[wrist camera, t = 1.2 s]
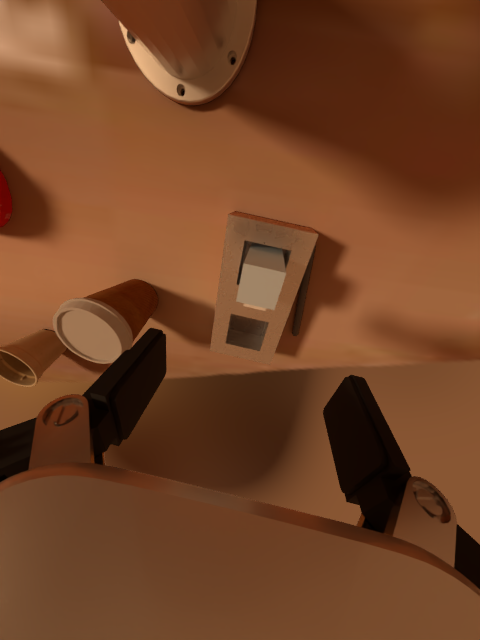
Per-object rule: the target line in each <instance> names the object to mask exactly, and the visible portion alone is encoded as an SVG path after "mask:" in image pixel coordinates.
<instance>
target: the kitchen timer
mask: <svg viewBox="0 0 480 640" xmlns="http://www.w3.org/2000/svg"><path fill="white" fill-rule="evenodd" d="M11 213H12V198H11V194H10V191H9V188H8V185H7V182H6V180H5V178H4V176H3V174H2V172H1V170H0V227H3V226H4V225H5V224H6V223H7V222H8V221H9V219H10V216H11Z"/></svg>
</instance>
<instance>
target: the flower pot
mask: <svg viewBox="0 0 480 640" xmlns="http://www.w3.org/2000/svg"><path fill="white" fill-rule="evenodd" d="M66 349H67V347H66V346H65V345H64V344H63V343H62V341H61V340H60V339H59V337H58V336H57V334H56V333H55V332H53V331H51V330H45V329H42V330H39V331H37V332H35V333H32V334H30V335H28V336H25V337H23V338H21V339H18V340H16V341H14V342H11V343H9V344H6V345H1V346H0V376H1V377H2V378H4V379H5V380H7V381H9V382H11V383H14V384H16V385H20V386H25V387H30V386H34V385H35V384H36V383H37V382H38V379H39V378H40V377H41V376H42V374H43V372H44V371H45V370H46V369H47V368H48V367H49V366H50V365H51V364H52V363H53V362H54V361H55V360H56V359H57V358H58V357H59V356H60V355H61V354H62V353H63V352H65V351H66Z"/></svg>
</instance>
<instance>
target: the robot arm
mask: <svg viewBox="0 0 480 640" xmlns="http://www.w3.org/2000/svg"><path fill="white" fill-rule="evenodd" d="M101 1H102V2H103V3H104V4H105V5H106V6H107V8H108V9H109V10H110V11H111V12H112V13H113V14H114V16H115V17H116V18H117V19H118V21H119V25H120V29H121V31H122V34H123V37H124V40H125V42H126V45H127V47H128V49H129V51H130V53H131V55H132V57H133V59H134V61H135V63H136V65H137V66H138V67H139V69H140V70H141V72H142V73H143V75H144V76H145V78H146V79H147V80H148V81H149V82H150V83H151V84H152V85H153V86H154V87H155V88H156V89H157V90H158V91H160V92H161V93H162V94H163V95H164V96H166V97H168V98H169V99H171V100H173V101H175V102H177V103H181V104H184V105H201V104H204V103H208V102H210V101H212V100H214V99H215V98H217V97H219V96H220V95H221V94H222V93H223V92H224V91H225V90H226V89H227V88H228V87H229V86H230V85H231V83H232V82H233V81H234V79H235V78H236V76H237V75H238V73H239V71H240V69H241V67H242V65H243V63H244V61H245V59H246V56H247V53H248V50H249V47H250V44H251V41H252V36H253V31H254V26H255V21H256V10H257V0H101ZM135 40H136V42H135ZM232 60H236V63H235V64H234V65H231V61H232ZM184 90H185V94H184V96H182V92H183V91H184ZM165 374H166V335H165V334H163V331H162V330H158V329H154V328H150V329H148V330H147V332H146V333H145V334H144V335H143V336H142V337H141V338H140V339H139V340H138V341H137V342H136V343H135V345H134V346H133V347H132V348H131V349H130V350H125V351H124V352H123V353H122V354H121V355H120V356H119V357H118V358H117V359H116V360H115V361H114V362H113V364H112V365H111V366H110V367H109V368H108V369H107V370H106V371H105V372H104V373H103V374H102V375H101V376H100V377H99V378H98V379H97V380H96V381H95V382H94V384H93V385H92V386H91V387H90V388H89V389H88V390H87V391H86V392H85V393H84V394H83V395H82V396H81V395H78V394H71V395H66V396H62V397H59V398H57V399H55V400H53V401H52V402H50V403H48V404H47V405H46V406H45V407H44V408H43V409H42V410H41V411H40V413H39V414H38V416H37V418H34V419H31V420H28V421H26V422H23V423H20V424H17V425H14V426H11V427H8V428H6V429H3V430H0V640H480V545H479V544H478V543H477V542H476V541H475V540H474V539H473V538H472V537H471V536H470V535H469V534H467V533H466V532H465V531H464V530H463V529H462V528H461V527H460V526H459V525H457V521H456V515H455V513H454V510H453V508H452V506H451V505H450V503H449V502H448V500H447V499H446V498H445V496H444V495H443V494H442V493H441V492H440V491H439V490H438V489H437V488H436V487H435V486H434V485H433V484H431V483H430V482H428V481H427V480H425V479H423V478H421V477H416V476H413V477H412V476H411V474H410V472H409V471H410V468H409V466H408V464H407V462H406V460H405V458H404V456H403V454H402V452H401V450H400V448H399V446H398V444H397V442H396V440H395V438H394V436H393V434H392V432H391V430H390V428H389V426H388V424H387V422H386V420H385V418H384V416H383V415H382V412H381V410H380V408H379V406H378V404H377V402H376V400H375V398H374V396H373V394H372V393H371V390H370V388H369V386H368V384H367V382H366V380H365V379H364V378H362V377H358V376H354V375H350V376H349V377H345V378H344V380H343V381H342V383H341V384H340V386H339V387H338V389H337V390H336V392H335V393H334V395H333V396H332V397H331V399H330V400H329V402H328V403H327V405H326V406H325V408H324V410H323V415H324V419H325V424H326V428H327V433H328V437H329V441H330V445H331V450H332V454H333V458H334V463H335V466H336V471H337V475H338V480H339V484H340V488H341V490H342V492H343V493H345V497H346V501H347V502H350V503H353V504H357V505H360V508H361V512H362V513H361V516H360V518H359V521H358V523H357V526H354V525H350V524H347V523H343V522H339V521H335V520H331V519H327V518H323V517H319V516H315V515H311V514H307V513H303V512H299V511H296V510H292V509H288V508H284V507H279V506H275V505H271V504H267V503H263V502H259V501H255V500H251V499H247V498H243V497H239V496H235V495H231V494H227V493H223V492H219V491H215V490H211V489H206V488H203V487H198V486H194V485H190V484H186V483H182V482H178V481H174V480H169V479H165V478H161V477H157V476H153V475H148V474H144V473H139V472H135V471H130V470H126V469H121V468H117V467H111V466H106V465H105V457H104V452H105V451H107V449H108V447H109V445H110V444H113V445H117V446H119V445H120V444H121V442H122V440H123V439H127V438H128V437H129V435H130V434H131V432H132V430H133V429H134V427H135V425H136V424H137V422H138V420H139V419H140V417H141V415H142V414H143V412H144V410H145V408H146V407H147V405H148V404H149V402H150V400H151V398H152V397H153V395H154V393H155V392H156V390H157V388H158V387H159V385H160V383H161V382H162V380H163V378H164V377H165Z"/></svg>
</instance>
